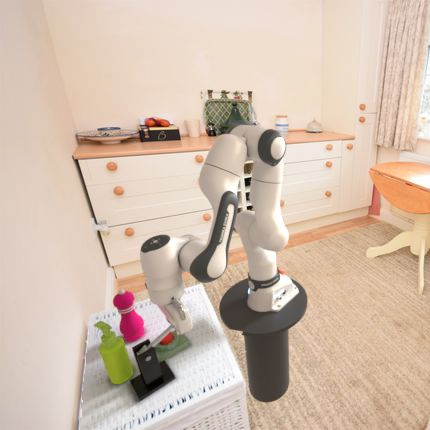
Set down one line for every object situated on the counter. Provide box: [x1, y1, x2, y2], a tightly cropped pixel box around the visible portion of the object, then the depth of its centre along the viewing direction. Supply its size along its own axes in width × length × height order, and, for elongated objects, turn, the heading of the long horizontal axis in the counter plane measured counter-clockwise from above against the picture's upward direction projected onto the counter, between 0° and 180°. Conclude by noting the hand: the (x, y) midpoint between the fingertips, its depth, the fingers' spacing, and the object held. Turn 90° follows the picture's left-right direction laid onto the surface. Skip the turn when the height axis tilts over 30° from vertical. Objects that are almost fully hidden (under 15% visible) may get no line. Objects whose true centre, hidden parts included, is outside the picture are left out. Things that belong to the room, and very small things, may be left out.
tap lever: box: [136, 321, 175, 355], centre depth 85 cm, size 12×5×2 cm, turn 136°
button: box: [160, 332, 173, 345], centre depth 97 cm, size 4×4×2 cm
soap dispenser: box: [93, 320, 134, 385], centre depth 85 cm, size 6×7×20 cm
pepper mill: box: [112, 288, 146, 343], centre depth 99 cm, size 7×7×20 cm
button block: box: [154, 329, 191, 363], centre depth 98 cm, size 11×8×4 cm
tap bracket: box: [129, 338, 176, 402], centre depth 85 cm, size 10×8×14 cm
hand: (175, 326), depth 88 cm, fingers closed on tap lever, 5 cm apart
